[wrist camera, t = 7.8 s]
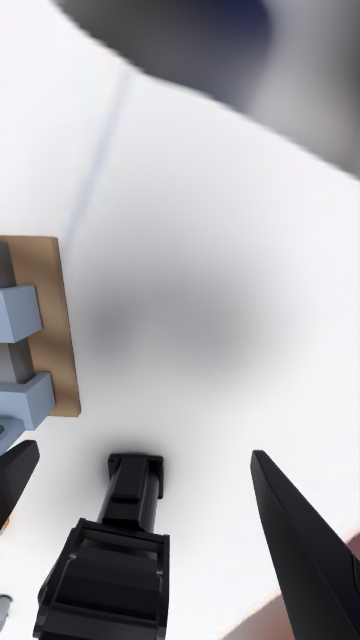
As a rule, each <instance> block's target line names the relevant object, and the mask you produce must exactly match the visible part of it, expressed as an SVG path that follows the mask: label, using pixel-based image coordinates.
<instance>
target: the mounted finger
mask: <svg viewBox="0 0 360 640" xmlns="http://www.w3.org/2000/svg"><path fill="white" fill-rule="evenodd" d="M55 406H56V404H55V399H54V393H53V387H52V382H51V376H50V372H40V373H39V374H38V375H36V376H35V377H34V378H33V379H31V380H30V381H29V382H28V383H26V384H16V383H0V456H1V455H2V454H4V453H5V452H6V451H7V450H8V448H9V447H10V446H11V445H12V444H13V443H14V442H15V441H16V440H17V439H18V438H19V437H20V436H21V434H22V433H23V432H24V431H25V430H29V431H34V430H35V429H36V428H37V427H38V426H39V425H40V423H41V422H42V421H43V420H44V419H45V418H46V417H47V416H48V414H49V413H50V412H51V411H52V410H53V409H54V408H55Z"/></svg>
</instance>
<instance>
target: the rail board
mask: <svg viewBox="0 0 360 640" xmlns="http://www.w3.org/2000/svg"><path fill="white" fill-rule="evenodd" d="M21 285H34V287H35V293H36V298H37V303H38V309H39V314H40V319H41V325H42V329H41V330H39V331H37V332H35V333H33V334H31V335H29V336H27V337H25V338H23V339H21V340H19V341H17V342H15V343H1V342H0V383H16V384H26V383H28V382H29V381H30V380H31V379H33V378H34V377H35V376H36V375H38V374H39V373H40V372H50V376H51V382H52V387H53V393H54V399H55V404H56V406H55V408H54V409H53V410H52V411H51V412H50V413H49V414H48V416H64V417H78V416H79V414H80V413H81V408H80V400H79V393H78V386H77V379H76V372H75V364H74V357H73V350H72V343H71V335H70V328H69V321H68V314H67V307H66V299H65V292H64V285H63V278H62V270H61V263H60V256H59V249H58V242H57V238H54V237H30V236H0V288H2V289H5V288H10V287H16V286H21Z"/></svg>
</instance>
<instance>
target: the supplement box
mask: <svg viewBox="0 0 360 640" xmlns="http://www.w3.org/2000/svg"><path fill="white" fill-rule="evenodd" d="M8 522H9V521H8V519H7V521H6V522H5V524H4V526H3V527H2V529H1V531H0V536H1V534H2V533H3V531H4V530H5V528H6V527H7V525H8Z"/></svg>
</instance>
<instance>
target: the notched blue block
mask: <svg viewBox="0 0 360 640" xmlns="http://www.w3.org/2000/svg"><path fill="white" fill-rule="evenodd" d="M41 329H42V325H41V319H40V314H39V309H38V303H37V298H36V293H35V287H34V285H21V286H16V287H10V288H5V289H2V288H0V342H1V343H15V342H17V341H19V340H21V339H23V338H25V337H27V336H29V335H31V334H33V333H35V332H37V331H39V330H41Z"/></svg>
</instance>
